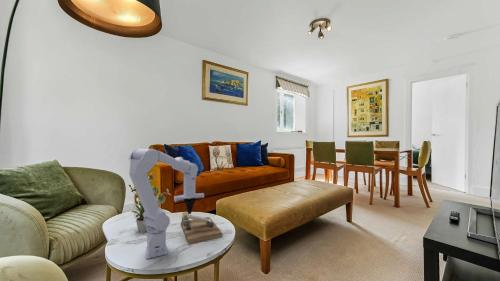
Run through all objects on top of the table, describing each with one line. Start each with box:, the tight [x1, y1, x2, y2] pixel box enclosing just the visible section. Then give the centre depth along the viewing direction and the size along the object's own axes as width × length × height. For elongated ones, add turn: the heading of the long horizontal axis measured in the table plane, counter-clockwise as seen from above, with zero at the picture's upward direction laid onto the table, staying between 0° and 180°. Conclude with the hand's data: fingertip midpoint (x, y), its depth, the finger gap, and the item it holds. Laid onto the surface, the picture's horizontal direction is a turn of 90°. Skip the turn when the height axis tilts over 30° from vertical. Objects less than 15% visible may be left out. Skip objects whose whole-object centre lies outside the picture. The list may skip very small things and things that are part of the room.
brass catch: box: [181, 211, 190, 220], centre depth 108 cm, size 5×2×2 cm, turn 28°
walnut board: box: [180, 216, 223, 245], centre depth 104 cm, size 22×16×5 cm
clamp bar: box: [187, 214, 213, 223], centre depth 104 cm, size 4×13×2 cm, turn 118°
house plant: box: [130, 202, 147, 233], centre depth 102 cm, size 14×14×16 cm
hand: (189, 213), depth 101 cm, fingers closed
